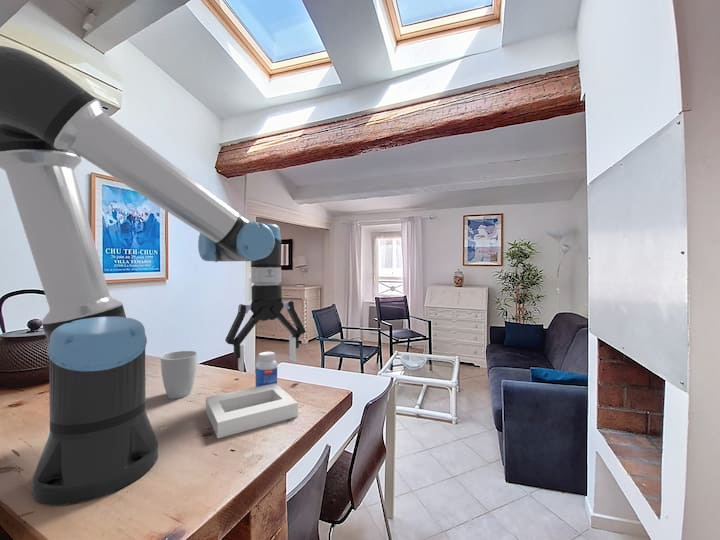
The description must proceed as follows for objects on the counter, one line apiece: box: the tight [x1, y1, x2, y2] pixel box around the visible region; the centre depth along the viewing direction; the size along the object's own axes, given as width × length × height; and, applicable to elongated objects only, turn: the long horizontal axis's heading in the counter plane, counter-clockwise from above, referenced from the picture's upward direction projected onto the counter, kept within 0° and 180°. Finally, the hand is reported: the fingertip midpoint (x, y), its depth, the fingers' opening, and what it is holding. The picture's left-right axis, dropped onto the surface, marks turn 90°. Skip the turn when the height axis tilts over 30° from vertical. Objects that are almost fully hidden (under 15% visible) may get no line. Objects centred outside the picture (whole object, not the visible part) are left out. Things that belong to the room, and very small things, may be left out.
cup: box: [160, 350, 198, 399], centre depth 81 cm, size 8×8×10 cm
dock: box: [205, 383, 299, 439], centre depth 73 cm, size 16×20×3 cm
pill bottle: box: [255, 351, 278, 387], centre depth 83 cm, size 6×5×10 cm
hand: (268, 365), depth 83 cm, fingers open, 13 cm apart
